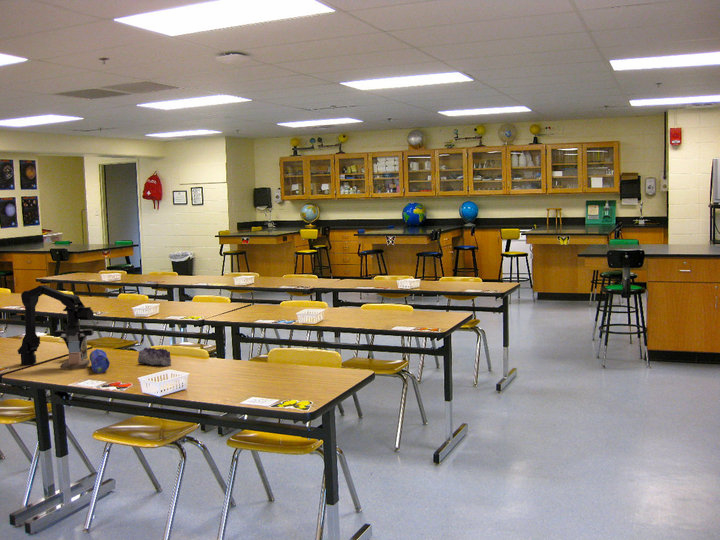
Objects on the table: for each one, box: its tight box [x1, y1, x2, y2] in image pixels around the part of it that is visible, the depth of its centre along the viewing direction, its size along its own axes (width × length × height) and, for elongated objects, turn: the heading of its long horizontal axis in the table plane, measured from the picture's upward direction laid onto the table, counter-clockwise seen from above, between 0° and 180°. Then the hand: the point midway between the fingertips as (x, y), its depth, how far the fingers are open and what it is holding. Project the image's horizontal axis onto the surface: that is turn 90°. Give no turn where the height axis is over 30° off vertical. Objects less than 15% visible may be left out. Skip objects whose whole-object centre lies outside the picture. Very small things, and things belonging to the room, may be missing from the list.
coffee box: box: [69, 328, 88, 360], centre depth 375 cm, size 9×6×16 cm
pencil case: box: [89, 348, 111, 374], centre depth 351 cm, size 22×9×10 cm, turn 24°
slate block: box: [67, 341, 80, 354], centre depth 357 cm, size 5×5×5 cm
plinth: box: [59, 359, 91, 370], centre depth 358 cm, size 12×12×2 cm
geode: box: [137, 347, 172, 367], centre depth 363 cm, size 20×12×10 cm, turn 65°
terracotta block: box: [68, 352, 81, 364], centre depth 358 cm, size 5×5×5 cm
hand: (74, 349), depth 358 cm, fingers closed on slate block, 5 cm apart
